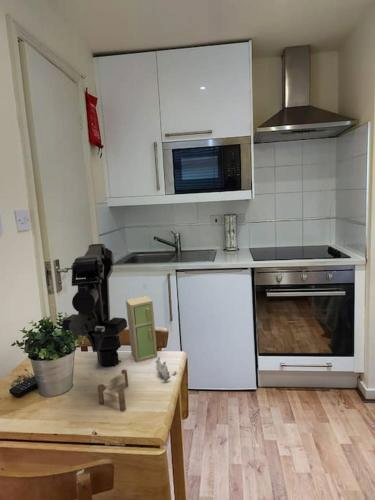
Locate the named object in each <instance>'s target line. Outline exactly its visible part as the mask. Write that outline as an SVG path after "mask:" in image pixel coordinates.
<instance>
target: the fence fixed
mask: <svg viewBox="0 0 375 500" xmlns="http://www.w3.org/2000/svg"><path fill="white" fill-rule="evenodd" d="M97 394H98V402H99V405H101V406H102V405H104V406H106V407H109V408H113V409H115V410H118V411H120V412H125V411H126V410H127V407H126V398H125V397H126V396H125V391H124V390H122V391H119V392H118V393H117V392H114V391H111V390H107V389H106V390H105V388H104V384H99V385H97Z"/></svg>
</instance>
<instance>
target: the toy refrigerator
mask: <svg viewBox="0 0 375 500" xmlns="http://www.w3.org/2000/svg"><path fill="white" fill-rule="evenodd" d="M153 302H154V301H153V300H152V299H151V298H150V297H149V296H148V295H145V296H138V297H134V298H133V297H132V298H128V299H126V300H125V304H126V305H125V306H126V313H127V314H126V316H127V326H128V334H129V343H130V353H131V356H132V358H133V359H134V361H135V362H136V363H138V362H142V361H146V360H149V359H153V358H158V347H157V337H156V327H155V325H156V324H155V318H154V317H155V315H154V306H153V305H154V303H153Z"/></svg>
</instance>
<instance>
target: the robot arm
mask: <svg viewBox="0 0 375 500" xmlns="http://www.w3.org/2000/svg"><path fill="white" fill-rule="evenodd" d="M87 248H88V249H87V251H86V252H85V254H84V255H83V256H82V255H81V256H78V257H76V258H75V260H74V262H72V264H71V265H72V266H71V267H72V268H71V286H72V287H77V291H76V292H75V294H74V295H73V297H72V301H71V305H72V308H73V309H74V310H75V311H76V312H77V314H75V313H74V314H71V315H69V316H68V317H65V318H64V319H63V320H62V322H61V329H62V330H63V331H70V332H71V334H72V336H81V337H85V336H86V338H87V340H88V341H89V343H90V345H91V349H92V353H96V354H97V363H98V365H99V366H100V367H102V368H109V367H110V368H114V367H116V366H117V365H119V363H122V360H120V359H119V354H118V353H119V352H118V351H119V349H120V348H121V347H122V344H121V338H120V336H119V334H120V333H122V332H123V331H124V330H126V328H128V320H127V319H125V317H112V318H111V307H110V283H109V279H110V277H111V275H112V273H113V272H114V270H113V268H114V266H115V258H114V257H115V256H114V254H113V251H112V250H110V249H109V248H107V247H106V245H105V244H104V243H92V244H89V245H88V247H87Z"/></svg>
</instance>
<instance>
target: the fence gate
mask: <svg viewBox="0 0 375 500" xmlns="http://www.w3.org/2000/svg"><path fill="white" fill-rule="evenodd" d="M128 380H129V379H128V370H127V369H122V370H121V373H119V374H117V375H116V376H114V377H112V379H110V380H108V381H107V382H105V383H104V384H103V385H104V388H105V390H106V389H107V390H111V391H114V392H117V393H118V392H119V391H124V389H126V388H128V387H129V381H128Z"/></svg>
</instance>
